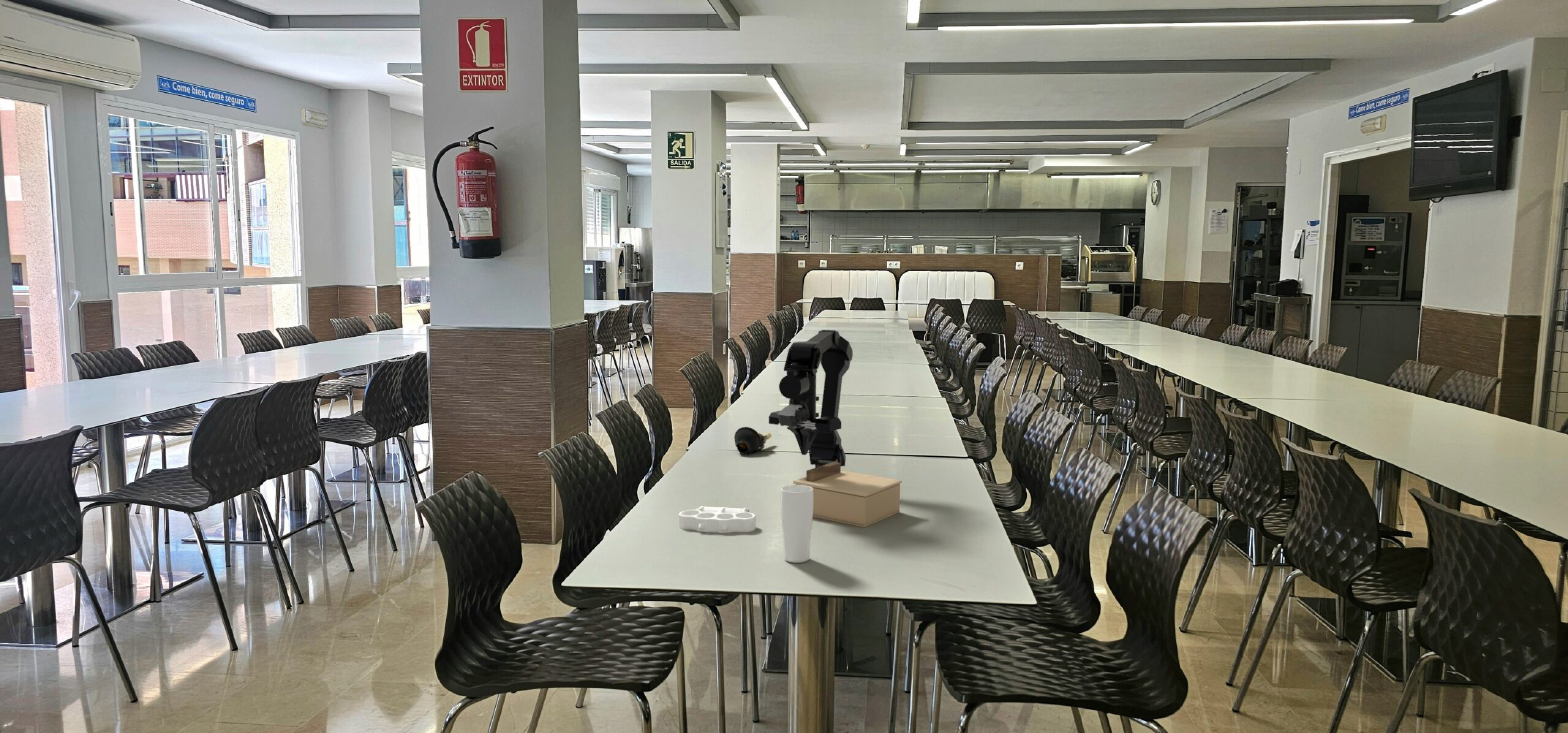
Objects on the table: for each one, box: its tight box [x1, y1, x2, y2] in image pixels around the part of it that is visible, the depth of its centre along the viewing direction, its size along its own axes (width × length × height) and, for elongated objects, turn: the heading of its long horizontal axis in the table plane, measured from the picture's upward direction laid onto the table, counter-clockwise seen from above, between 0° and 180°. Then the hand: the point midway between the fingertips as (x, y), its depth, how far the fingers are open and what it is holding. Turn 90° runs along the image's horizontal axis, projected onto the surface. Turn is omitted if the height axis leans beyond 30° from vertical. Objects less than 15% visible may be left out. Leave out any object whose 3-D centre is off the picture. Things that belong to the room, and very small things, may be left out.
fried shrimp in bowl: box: [734, 426, 772, 455], centre depth 298 cm, size 9×11×18 cm
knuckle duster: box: [678, 505, 757, 534], centre depth 216 cm, size 3×18×15 cm
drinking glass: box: [780, 484, 814, 564], centre depth 190 cm, size 7×7×15 cm
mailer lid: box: [792, 462, 903, 497], centre depth 225 cm, size 21×17×3 cm
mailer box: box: [794, 483, 901, 528], centre depth 226 cm, size 20×16×7 cm
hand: (804, 454), depth 233 cm, fingers closed
